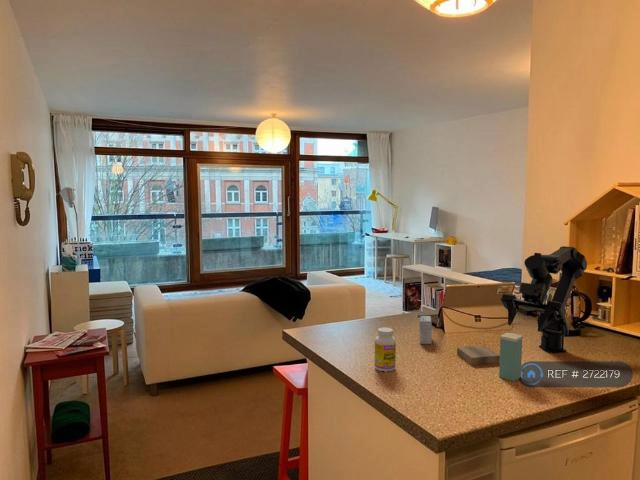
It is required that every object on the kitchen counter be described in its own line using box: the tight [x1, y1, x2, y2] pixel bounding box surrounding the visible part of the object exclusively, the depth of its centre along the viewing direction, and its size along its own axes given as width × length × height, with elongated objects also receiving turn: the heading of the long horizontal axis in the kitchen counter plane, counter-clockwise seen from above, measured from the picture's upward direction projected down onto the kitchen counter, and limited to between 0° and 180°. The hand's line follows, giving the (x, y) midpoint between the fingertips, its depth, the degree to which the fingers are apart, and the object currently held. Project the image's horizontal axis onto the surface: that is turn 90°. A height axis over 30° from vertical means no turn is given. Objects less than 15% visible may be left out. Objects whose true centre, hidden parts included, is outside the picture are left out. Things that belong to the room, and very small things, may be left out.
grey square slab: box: [456, 345, 500, 366], centre depth 157 cm, size 10×10×3 cm
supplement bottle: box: [374, 326, 397, 373], centre depth 149 cm, size 7×7×13 cm
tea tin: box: [498, 332, 524, 382], centre depth 141 cm, size 5×5×13 cm
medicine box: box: [418, 315, 433, 345], centre depth 176 cm, size 8×4×9 cm, turn 168°
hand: (523, 327), depth 146 cm, fingers open, 9 cm apart
